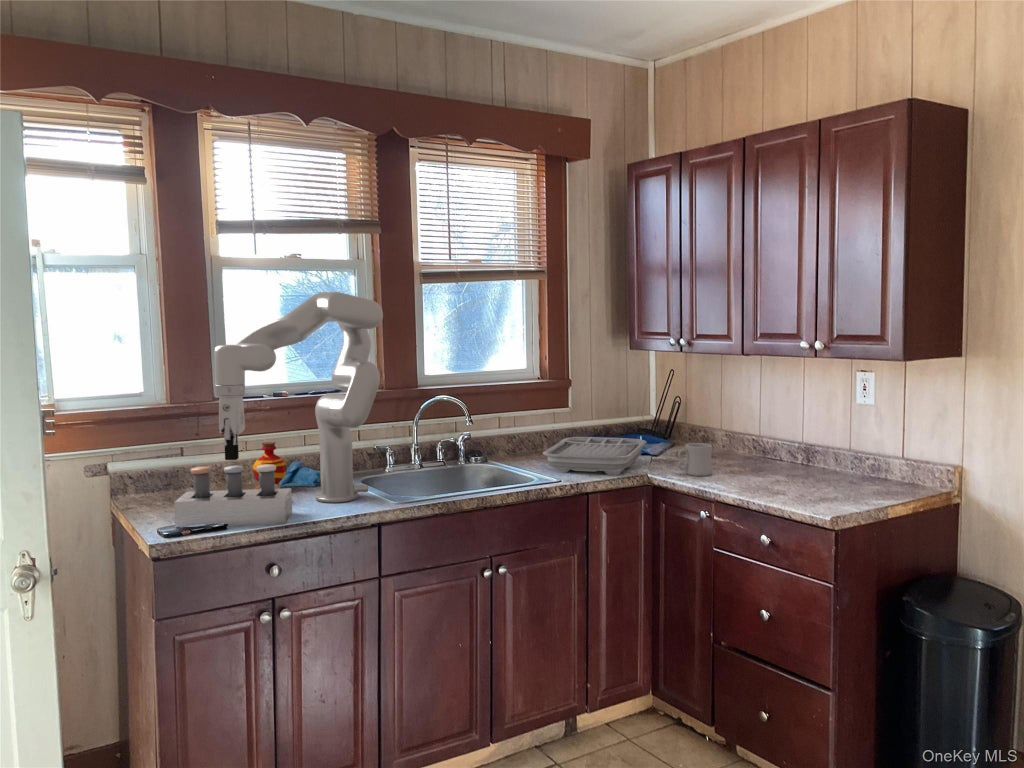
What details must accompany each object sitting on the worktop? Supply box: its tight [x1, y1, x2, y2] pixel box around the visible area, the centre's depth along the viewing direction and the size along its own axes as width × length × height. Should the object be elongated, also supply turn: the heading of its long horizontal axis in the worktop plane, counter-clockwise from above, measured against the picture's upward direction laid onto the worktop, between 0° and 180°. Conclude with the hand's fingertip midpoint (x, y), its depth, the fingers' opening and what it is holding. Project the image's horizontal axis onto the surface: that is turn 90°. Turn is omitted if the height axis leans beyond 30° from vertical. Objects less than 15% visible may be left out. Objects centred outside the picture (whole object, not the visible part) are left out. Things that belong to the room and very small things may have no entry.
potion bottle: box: [252, 441, 287, 486], centre depth 257 cm, size 10×10×15 cm
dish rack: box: [542, 436, 648, 476], centre depth 291 cm, size 32×37×8 cm
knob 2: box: [257, 465, 276, 496], centre depth 221 cm, size 5×5×8 cm
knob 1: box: [190, 466, 212, 498], centre depth 219 cm, size 5×5×8 cm
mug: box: [677, 442, 713, 477], centre depth 276 cm, size 12×9×10 cm
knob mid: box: [223, 465, 245, 497], centre depth 220 cm, size 5×5×8 cm
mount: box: [174, 487, 293, 528], centre depth 220 cm, size 28×12×7 cm, turn 97°
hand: (231, 459), depth 219 cm, fingers closed
